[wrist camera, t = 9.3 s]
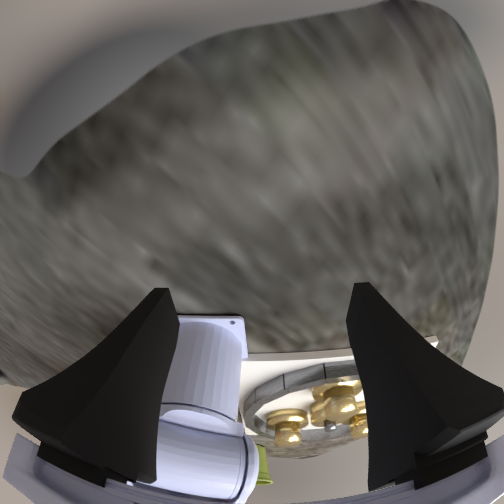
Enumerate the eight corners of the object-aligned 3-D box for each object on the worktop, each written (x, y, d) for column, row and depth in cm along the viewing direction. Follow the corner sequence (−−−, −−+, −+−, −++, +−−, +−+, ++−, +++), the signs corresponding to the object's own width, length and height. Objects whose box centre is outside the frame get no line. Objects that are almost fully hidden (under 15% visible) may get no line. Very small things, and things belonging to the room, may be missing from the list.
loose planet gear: (308, 394, 30) (311, 426, 27) (314, 370, 27) (319, 406, 23) (354, 390, 30) (359, 420, 26) (366, 365, 27) (375, 399, 23)
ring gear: (250, 433, 39) (249, 443, 37) (236, 365, 27) (235, 381, 25) (377, 421, 38) (379, 431, 36) (431, 347, 26) (436, 360, 24)
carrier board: (246, 429, 40) (245, 434, 40) (228, 353, 27) (228, 361, 27) (379, 418, 39) (380, 422, 38) (435, 335, 26) (438, 341, 25)
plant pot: (269, 452, 50) (269, 485, 42) (227, 450, 49) (225, 483, 42) (276, 441, 44) (276, 480, 37) (228, 439, 44) (225, 478, 37)
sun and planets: (266, 423, 36) (266, 449, 32) (265, 401, 31) (265, 431, 28) (371, 413, 35) (376, 437, 31) (389, 388, 30) (396, 416, 27)
